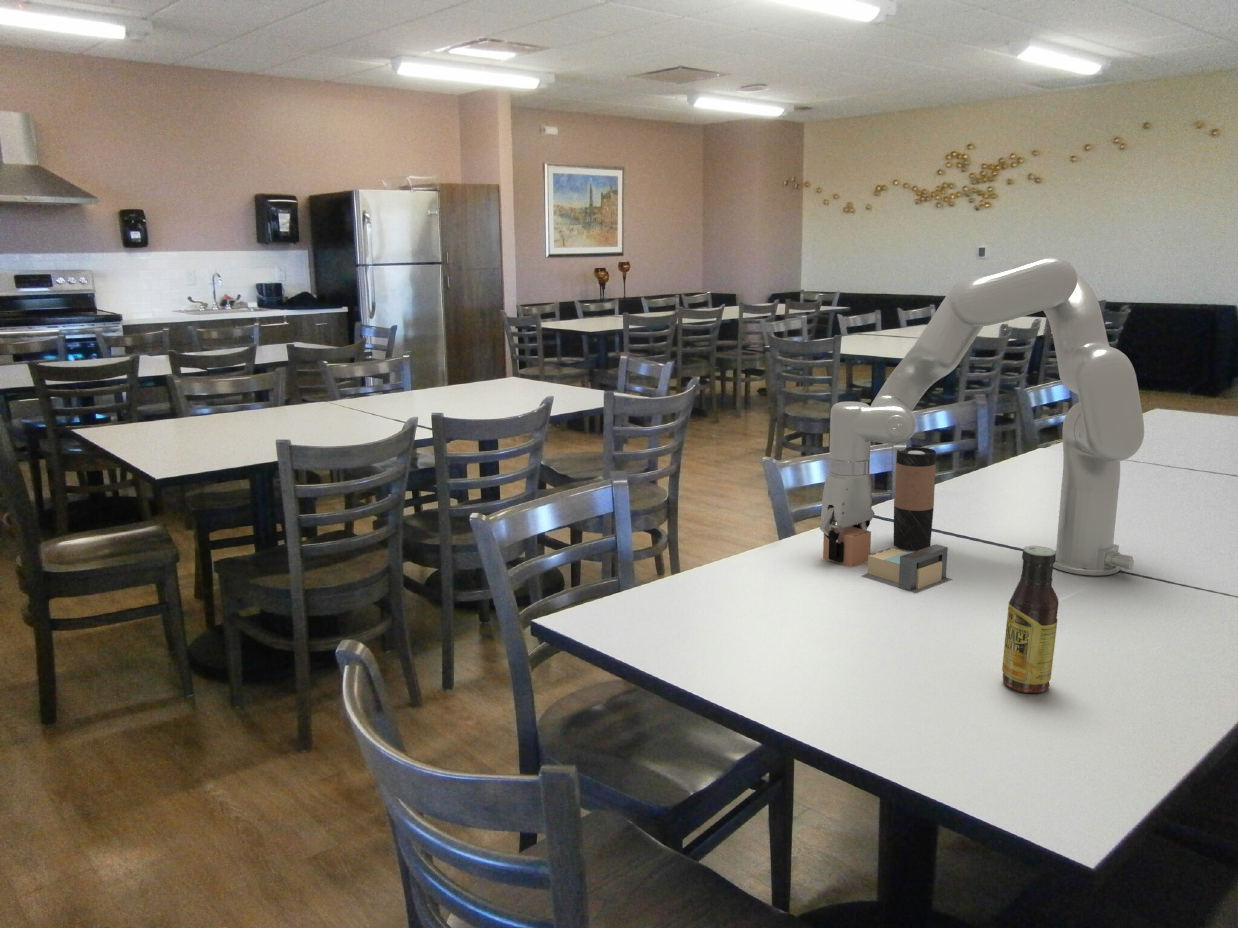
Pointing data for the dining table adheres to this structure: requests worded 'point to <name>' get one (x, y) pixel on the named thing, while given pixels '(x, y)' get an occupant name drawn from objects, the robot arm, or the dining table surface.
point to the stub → (852, 546)
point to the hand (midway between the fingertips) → (846, 556)
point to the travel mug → (914, 498)
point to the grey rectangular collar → (920, 564)
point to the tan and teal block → (889, 564)
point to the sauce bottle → (1031, 624)
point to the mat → (898, 583)
